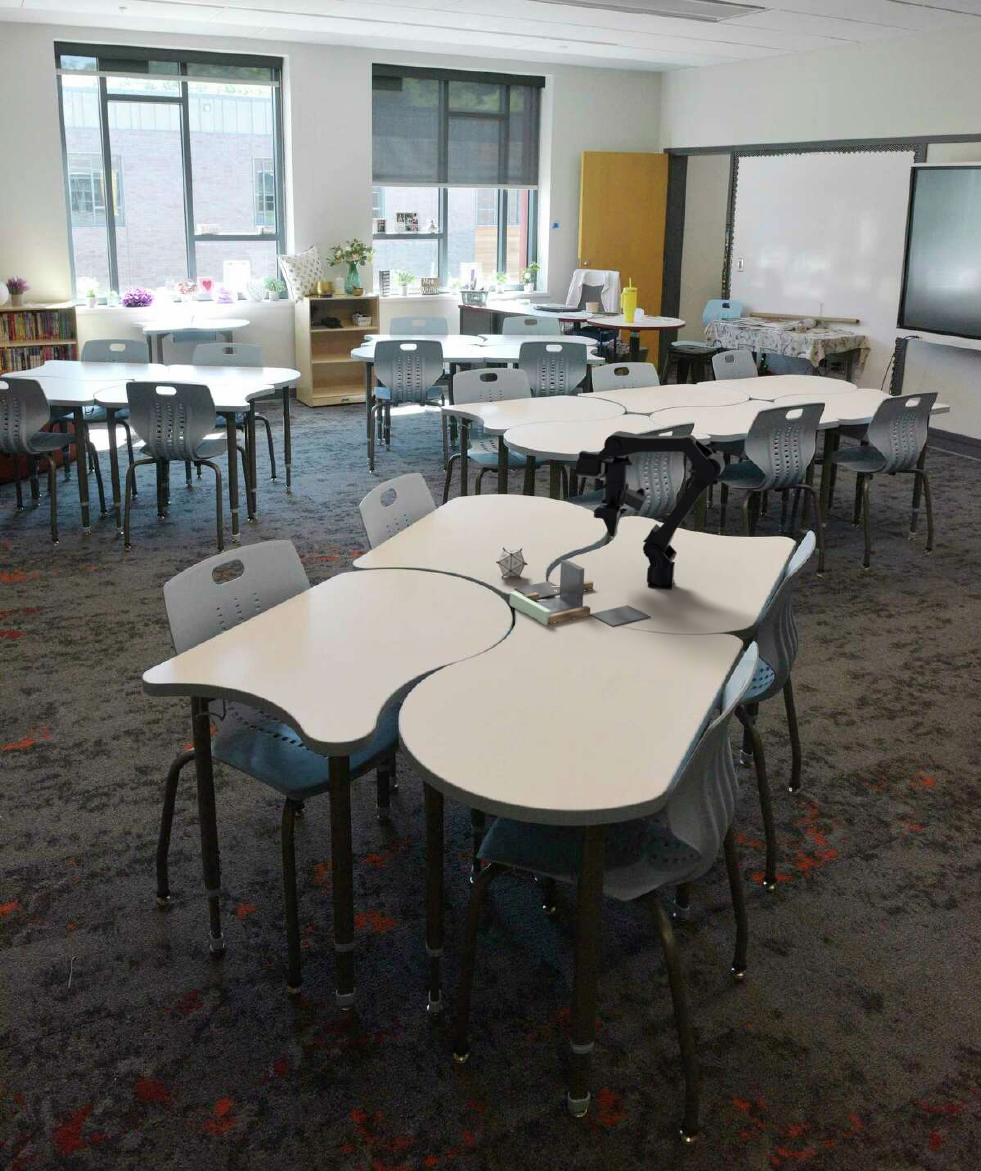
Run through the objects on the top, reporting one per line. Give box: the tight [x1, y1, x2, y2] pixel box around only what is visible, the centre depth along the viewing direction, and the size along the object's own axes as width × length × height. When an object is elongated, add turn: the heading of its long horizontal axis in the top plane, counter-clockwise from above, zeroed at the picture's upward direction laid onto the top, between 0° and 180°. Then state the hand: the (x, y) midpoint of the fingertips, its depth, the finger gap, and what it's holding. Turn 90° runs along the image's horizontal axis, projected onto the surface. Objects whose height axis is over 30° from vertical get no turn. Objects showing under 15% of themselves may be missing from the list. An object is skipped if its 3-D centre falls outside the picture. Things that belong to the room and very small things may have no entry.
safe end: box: [509, 590, 551, 626], centre depth 268 cm, size 2×16×4 cm, turn 32°
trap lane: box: [514, 580, 652, 628], centre depth 275 cm, size 25×34×2 cm
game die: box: [495, 547, 528, 580], centre depth 294 cm, size 9×8×10 cm
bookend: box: [536, 559, 585, 614], centre depth 271 cm, size 12×8×11 cm, turn 122°
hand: (612, 536), depth 291 cm, fingers closed
